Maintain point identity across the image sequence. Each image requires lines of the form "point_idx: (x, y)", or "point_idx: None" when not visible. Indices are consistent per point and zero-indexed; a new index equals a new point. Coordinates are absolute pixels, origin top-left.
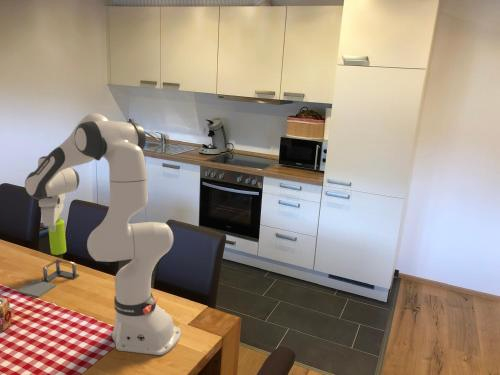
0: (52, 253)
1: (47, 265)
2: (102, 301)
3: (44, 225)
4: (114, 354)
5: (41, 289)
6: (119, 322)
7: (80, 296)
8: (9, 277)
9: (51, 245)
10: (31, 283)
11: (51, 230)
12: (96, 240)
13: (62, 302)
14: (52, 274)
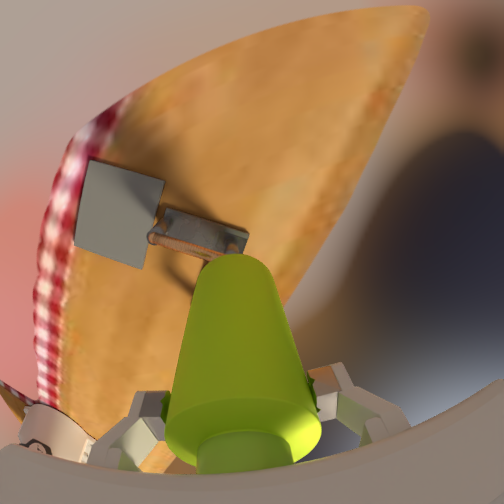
0: (199, 274)
1: (166, 245)
2: (109, 389)
3: (6, 447)
4: (19, 403)
5: (106, 236)
6: (18, 436)
7: (110, 347)
8: (189, 76)
9: (194, 296)
10: (137, 182)
11: (137, 404)
12: None
13: (75, 314)
14: (209, 229)
